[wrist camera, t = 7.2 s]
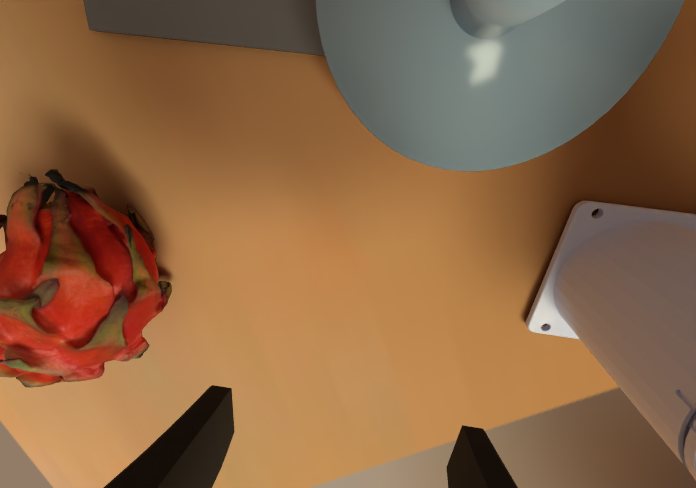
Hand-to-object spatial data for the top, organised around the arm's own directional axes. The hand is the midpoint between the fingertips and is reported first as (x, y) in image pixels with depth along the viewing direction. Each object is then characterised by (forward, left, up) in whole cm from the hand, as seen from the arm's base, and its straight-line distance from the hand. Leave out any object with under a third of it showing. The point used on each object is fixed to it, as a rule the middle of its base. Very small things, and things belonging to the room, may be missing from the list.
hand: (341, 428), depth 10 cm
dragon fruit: (+15, +1, -10) cm, 18 cm away
